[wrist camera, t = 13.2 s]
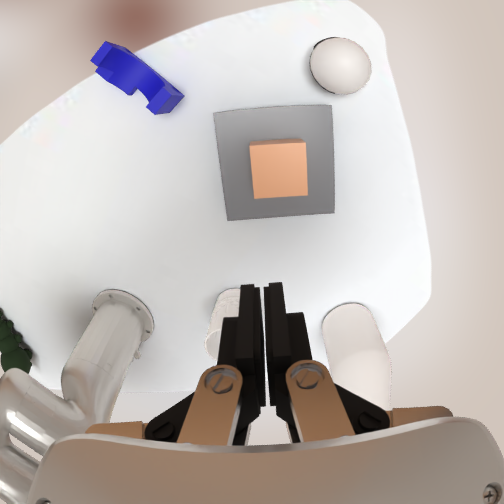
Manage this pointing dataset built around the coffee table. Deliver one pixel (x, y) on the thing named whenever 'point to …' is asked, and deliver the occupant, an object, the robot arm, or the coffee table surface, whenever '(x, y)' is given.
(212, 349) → the white cup
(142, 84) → the cable clip
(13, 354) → the toy figurine
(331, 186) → the flat gray square plate
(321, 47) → the white piece
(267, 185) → the tan block
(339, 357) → the wine bottle
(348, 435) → the robot arm
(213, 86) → the coffee table surface
